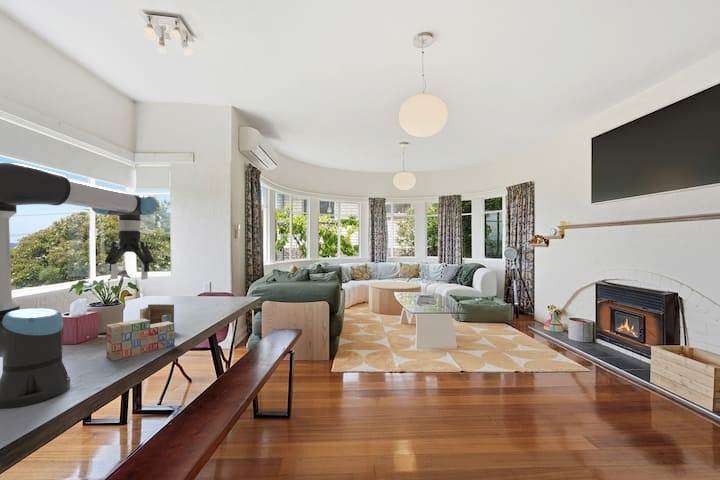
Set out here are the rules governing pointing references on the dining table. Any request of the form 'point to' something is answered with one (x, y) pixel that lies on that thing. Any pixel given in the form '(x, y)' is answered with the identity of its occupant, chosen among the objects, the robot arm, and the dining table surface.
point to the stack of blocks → (138, 337)
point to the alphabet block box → (158, 313)
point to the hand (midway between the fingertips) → (129, 279)
